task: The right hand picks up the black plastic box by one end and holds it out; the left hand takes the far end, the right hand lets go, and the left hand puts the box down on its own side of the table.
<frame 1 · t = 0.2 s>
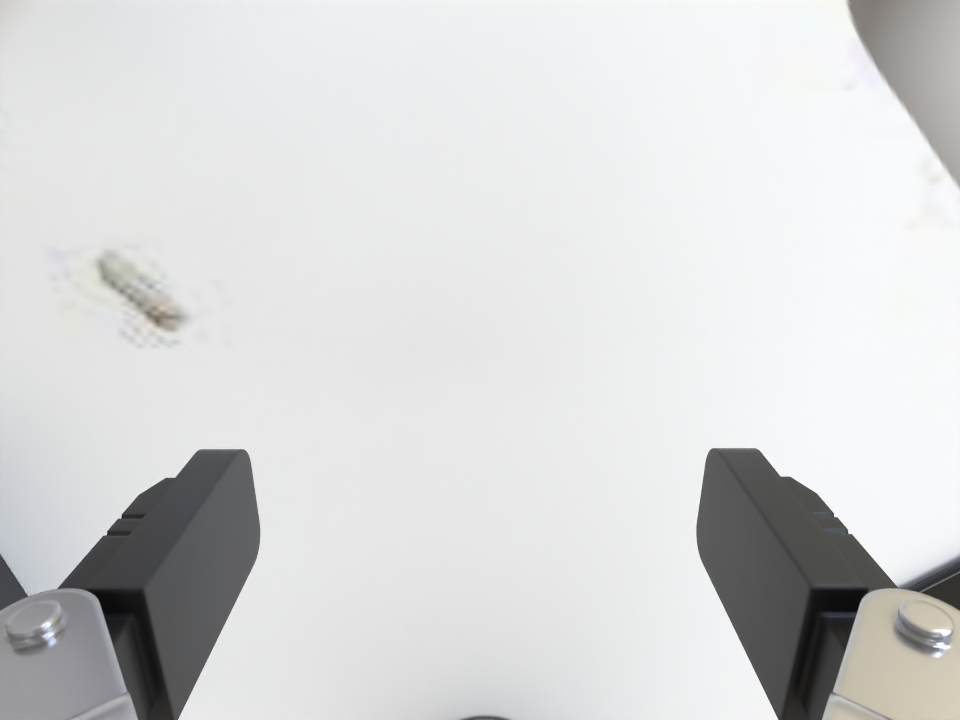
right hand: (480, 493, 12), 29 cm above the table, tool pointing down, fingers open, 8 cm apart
smartphone: (952, 603, 49), on the table
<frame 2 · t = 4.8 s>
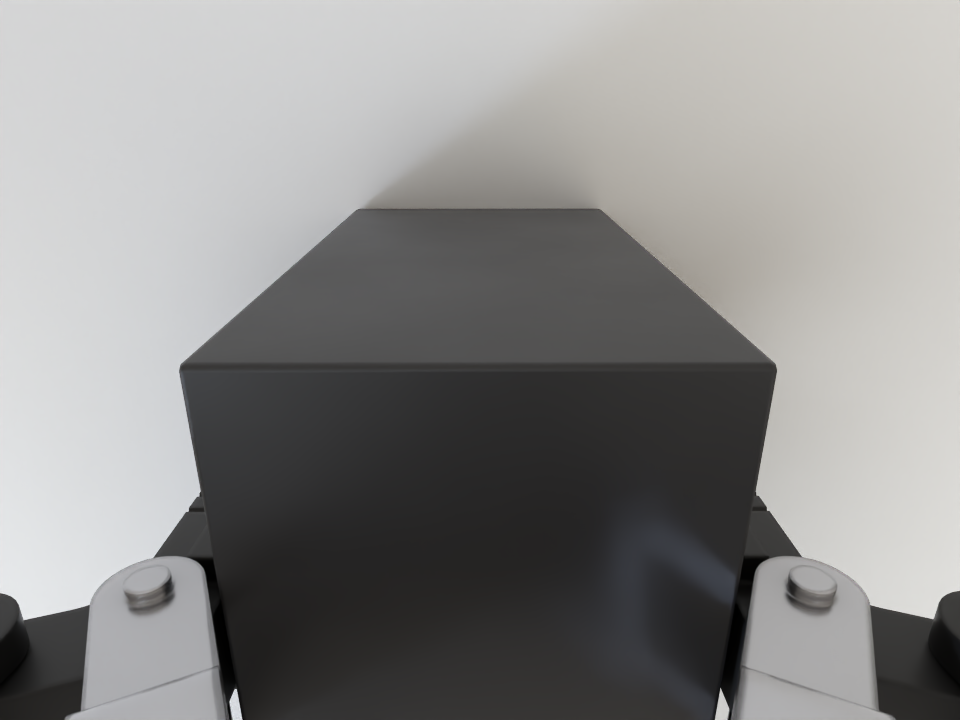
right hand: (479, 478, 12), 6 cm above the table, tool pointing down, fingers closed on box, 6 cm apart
box: (479, 637, 21), on the table, touching right hand
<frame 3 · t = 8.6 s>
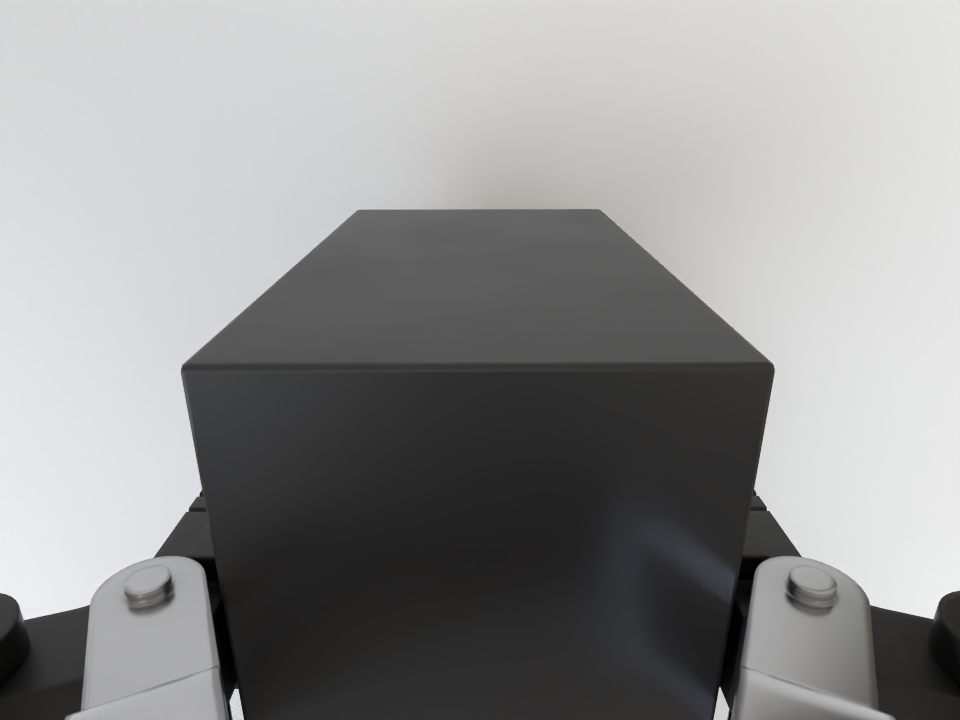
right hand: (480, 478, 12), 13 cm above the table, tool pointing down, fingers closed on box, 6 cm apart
box: (479, 637, 21), point 7 cm above the table, touching right hand, left hand
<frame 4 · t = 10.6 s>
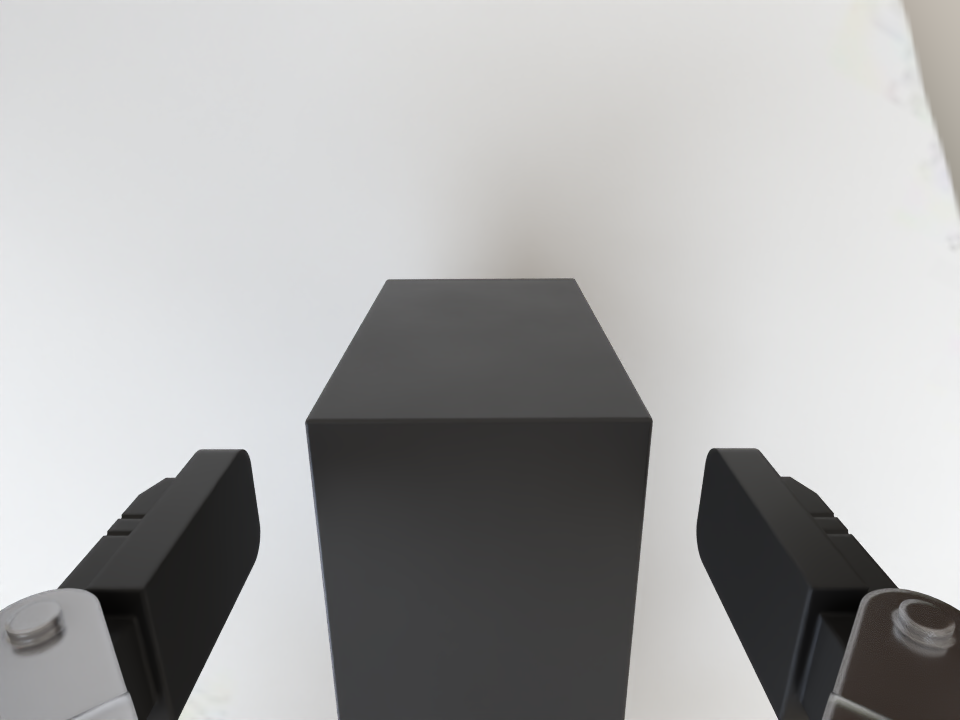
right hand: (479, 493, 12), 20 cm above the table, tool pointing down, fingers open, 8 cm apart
box: (482, 618, 26), point 10 cm above the table, touching left hand
when the left hand's fingers open (6 cm above the table, at t = 14.7 s): box stays where it is, on the table.
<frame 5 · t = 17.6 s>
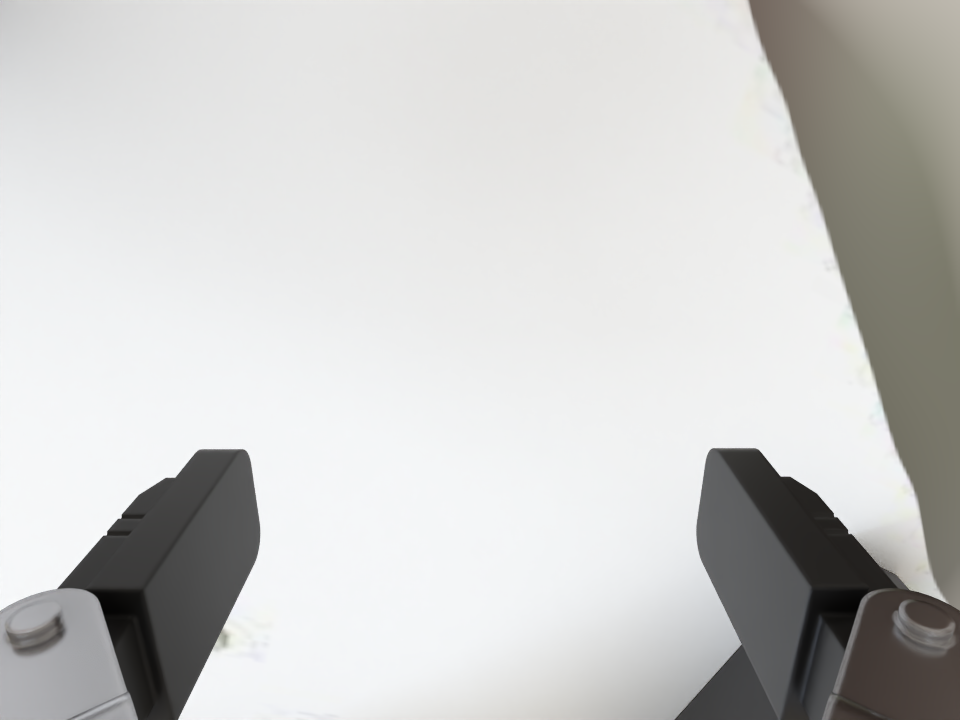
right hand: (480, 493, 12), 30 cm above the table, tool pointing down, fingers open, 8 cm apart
box: (751, 681, 53), on the table
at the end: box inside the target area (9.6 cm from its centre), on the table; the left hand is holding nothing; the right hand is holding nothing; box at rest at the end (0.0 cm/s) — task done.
